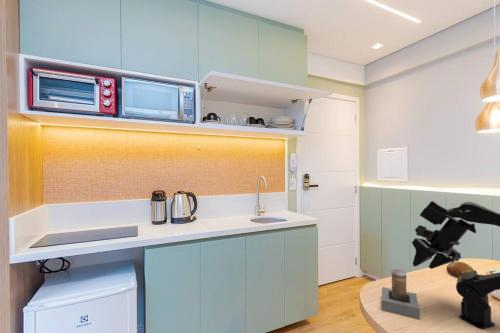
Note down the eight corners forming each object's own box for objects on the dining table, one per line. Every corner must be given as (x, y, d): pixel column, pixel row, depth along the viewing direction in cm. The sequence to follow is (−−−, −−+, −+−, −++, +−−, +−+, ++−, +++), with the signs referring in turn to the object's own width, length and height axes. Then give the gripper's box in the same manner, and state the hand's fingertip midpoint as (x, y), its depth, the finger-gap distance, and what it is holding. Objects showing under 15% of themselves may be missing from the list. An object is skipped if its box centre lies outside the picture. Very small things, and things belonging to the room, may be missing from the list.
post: (408, 306, 89) (407, 271, 89) (405, 311, 86) (404, 275, 86) (393, 301, 92) (393, 268, 92) (390, 306, 89) (389, 272, 89)
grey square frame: (415, 303, 91) (415, 293, 91) (419, 319, 81) (419, 308, 82) (382, 295, 96) (382, 286, 96) (381, 310, 87) (381, 300, 87)
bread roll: (473, 283, 114) (470, 264, 117) (479, 281, 106) (476, 262, 109) (446, 278, 119) (444, 261, 122) (449, 276, 111) (448, 258, 114)
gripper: (444, 223, 95) (419, 253, 100) (413, 214, 88) (388, 247, 93) (474, 243, 85) (445, 275, 91) (441, 236, 78) (412, 271, 84)
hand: (422, 266), depth 90 cm, fingers open, 9 cm apart
